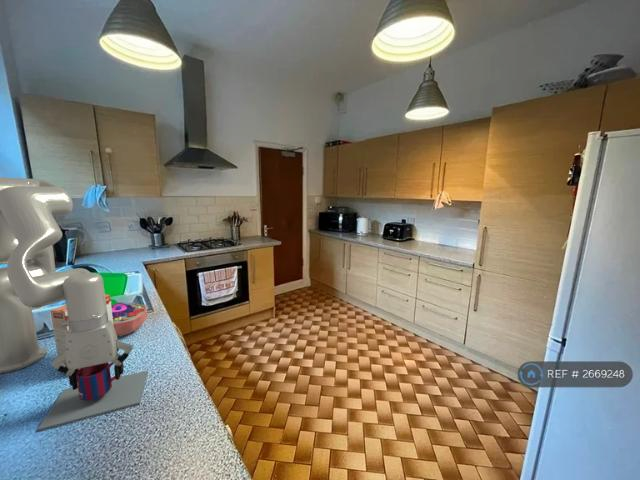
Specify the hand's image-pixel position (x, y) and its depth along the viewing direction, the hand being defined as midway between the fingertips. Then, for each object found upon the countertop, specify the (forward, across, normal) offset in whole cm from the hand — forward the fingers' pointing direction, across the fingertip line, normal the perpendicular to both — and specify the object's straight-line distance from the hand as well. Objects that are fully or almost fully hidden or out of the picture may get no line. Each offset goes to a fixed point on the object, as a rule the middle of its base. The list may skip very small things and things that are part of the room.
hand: (98, 381), depth 71 cm
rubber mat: (+5, 0, 0) cm, 5 cm away
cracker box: (+5, -8, +21) cm, 23 cm away
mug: (+3, +1, +1) cm, 3 cm away
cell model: (+5, -3, +40) cm, 40 cm away
